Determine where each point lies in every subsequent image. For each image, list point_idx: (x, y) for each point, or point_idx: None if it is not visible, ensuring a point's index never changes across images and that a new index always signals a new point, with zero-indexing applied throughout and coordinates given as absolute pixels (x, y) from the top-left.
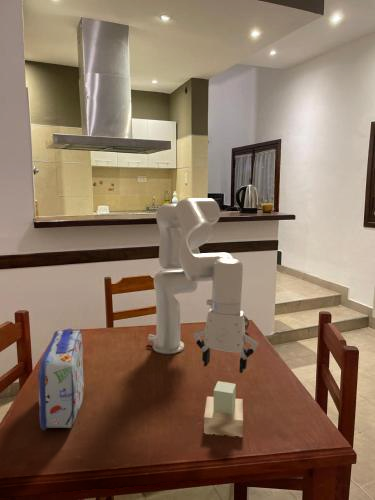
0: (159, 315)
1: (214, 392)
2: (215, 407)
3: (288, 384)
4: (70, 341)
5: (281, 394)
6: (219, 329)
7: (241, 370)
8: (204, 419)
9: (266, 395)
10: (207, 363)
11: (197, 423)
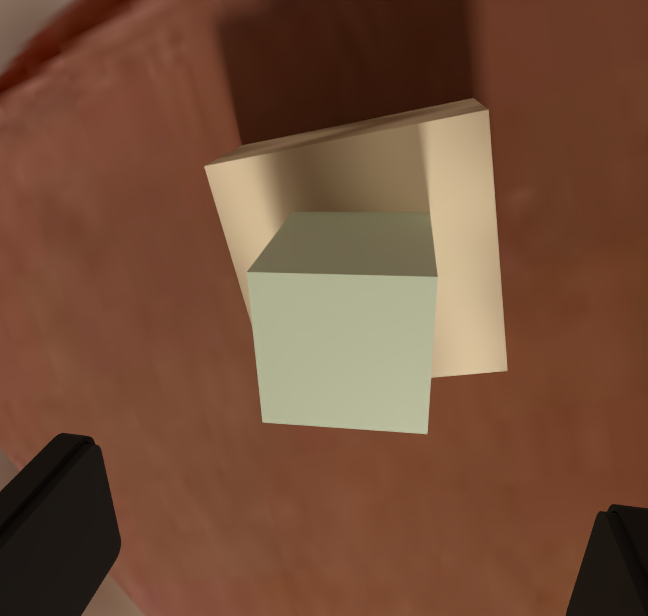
0: None
1: (428, 268)
2: (414, 221)
3: (153, 581)
4: None
5: (160, 515)
6: None
7: (41, 457)
8: (482, 107)
9: (218, 499)
10: (595, 562)
11: (532, 187)
